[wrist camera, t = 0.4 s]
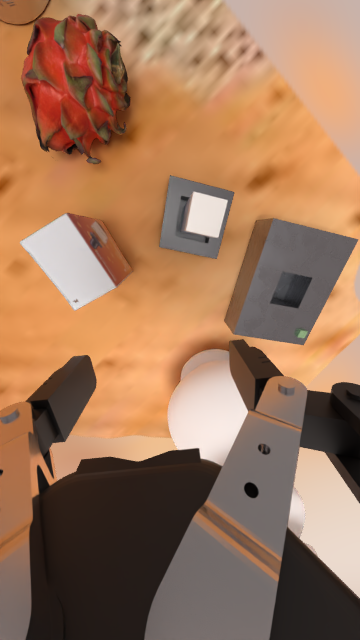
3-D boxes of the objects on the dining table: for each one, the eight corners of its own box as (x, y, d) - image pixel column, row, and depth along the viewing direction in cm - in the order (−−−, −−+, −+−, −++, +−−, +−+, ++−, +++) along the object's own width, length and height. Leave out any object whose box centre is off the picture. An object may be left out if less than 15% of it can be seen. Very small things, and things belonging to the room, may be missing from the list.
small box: (133, 271, 30) (118, 289, 20) (103, 288, 31) (74, 313, 21) (101, 218, 27) (66, 210, 17) (68, 238, 28) (16, 241, 18)
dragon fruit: (141, 87, 23) (77, 165, 27) (70, -43, 16) (-1, 88, 20) (160, 106, 19) (81, 196, 23) (76, -57, 12) (-16, 112, 16)
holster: (169, 181, 26) (169, 175, 23) (227, 196, 27) (234, 192, 24) (159, 245, 29) (159, 247, 26) (212, 256, 30) (216, 258, 27)
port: (256, 220, 28) (275, 218, 23) (328, 238, 30) (361, 239, 25) (224, 320, 34) (234, 335, 29) (286, 330, 36) (305, 346, 31)
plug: (184, 206, 26) (193, 191, 17) (206, 211, 27) (227, 200, 18) (179, 231, 28) (185, 230, 18) (201, 236, 28) (218, 237, 19)
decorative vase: (178, 328, 34) (204, 516, 11) (270, 345, 37) (437, 524, 14) (159, 402, 41) (151, 614, 18) (237, 412, 44) (316, 607, 21)
